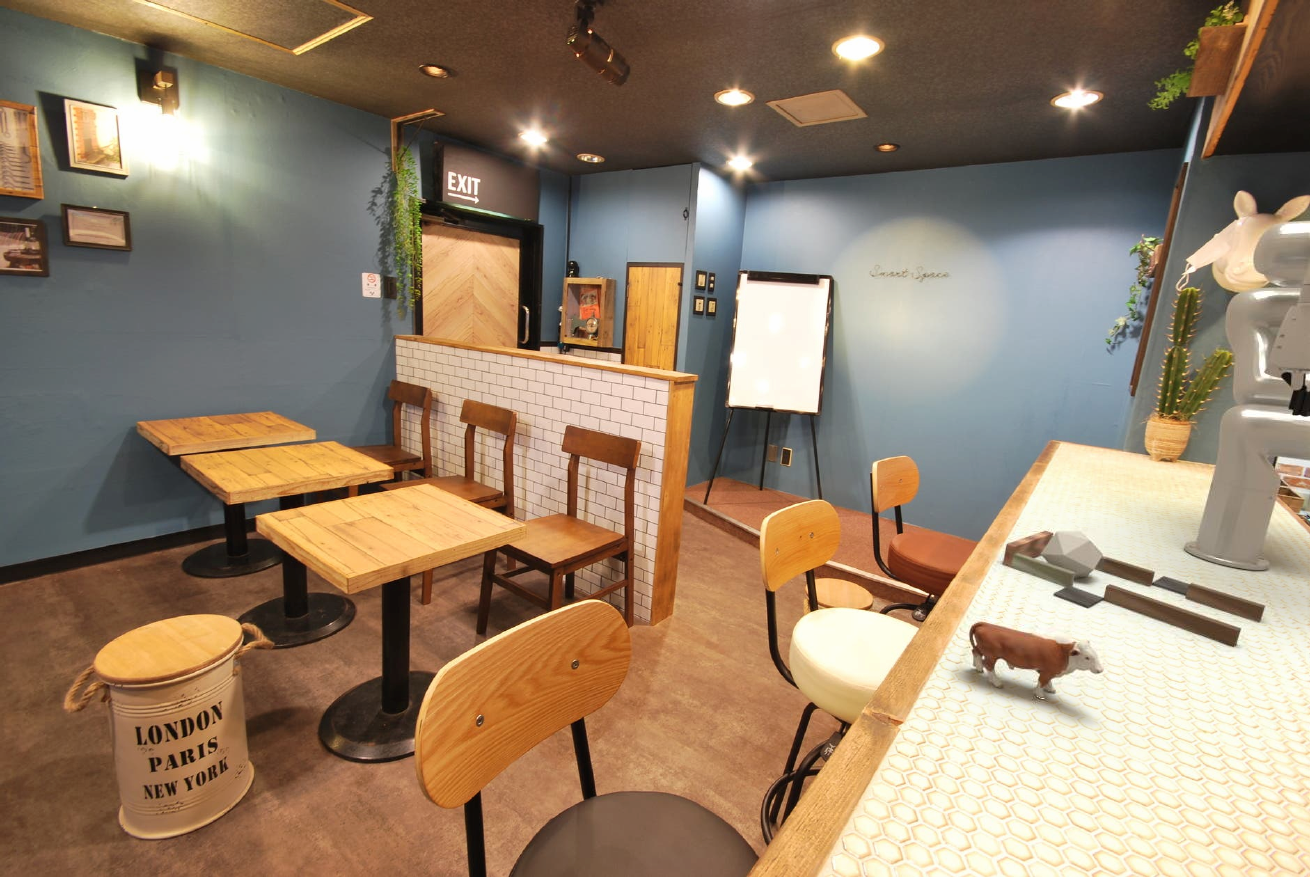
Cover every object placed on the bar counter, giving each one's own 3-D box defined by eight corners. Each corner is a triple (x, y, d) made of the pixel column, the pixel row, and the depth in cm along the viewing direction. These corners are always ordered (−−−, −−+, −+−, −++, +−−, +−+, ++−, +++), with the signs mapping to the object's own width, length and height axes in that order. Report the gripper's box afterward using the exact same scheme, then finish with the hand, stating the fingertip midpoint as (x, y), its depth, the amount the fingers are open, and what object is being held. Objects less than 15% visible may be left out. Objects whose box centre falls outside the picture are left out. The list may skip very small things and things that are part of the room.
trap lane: (1054, 544, 122) (1058, 526, 122) (1270, 611, 97) (1276, 588, 96) (986, 570, 107) (990, 549, 106) (1222, 658, 81) (1229, 631, 80)
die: (1101, 592, 102) (1119, 543, 104) (1062, 566, 101) (1081, 518, 103) (1061, 587, 110) (1078, 542, 112) (1024, 563, 109) (1043, 519, 111)
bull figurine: (1093, 720, 66) (1109, 655, 64) (960, 677, 73) (972, 617, 71) (1090, 700, 70) (1105, 638, 68) (964, 661, 76) (974, 603, 75)
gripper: (1415, 300, 86) (1376, 423, 90) (1271, 299, 98) (1243, 407, 102) (1409, 296, 82) (1369, 425, 86) (1260, 296, 94) (1231, 409, 98)
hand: (1301, 415), depth 94 cm, fingers closed
